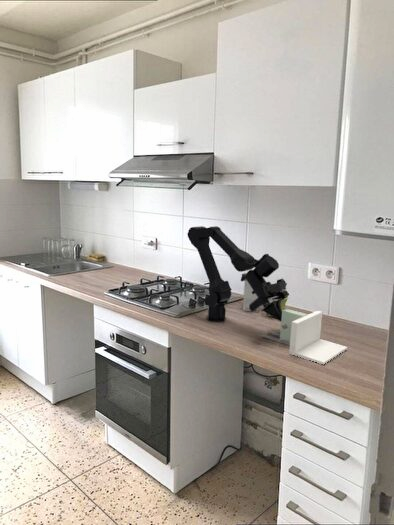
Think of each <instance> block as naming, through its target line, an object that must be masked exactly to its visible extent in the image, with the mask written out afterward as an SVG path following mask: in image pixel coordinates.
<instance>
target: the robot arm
mask: <svg viewBox="0 0 394 525" xmlns="http://www.w3.org/2000/svg"><path fill="white" fill-rule="evenodd" d="M187 231H188V232H187V238H188V240H189V242H190V243H191V245H192V246H193V248H195V249H196V250H197V251H198V254H199V257H200V260H201V263H202V265H203V268H204V271H205V274H206V277H207V279H208V282H209V286H208V293H209V295H208V296H207V297H206V298H204V300H203V301H204V305H205V306H207V315H206V317H207V321H209V322H225V319H226V311H227V310H226V307H225V305H226V304H228V302H229V300H230V299H231V297H232V289H233V288H231V286H230V282H229V280H223V278H222V277H221V274H220V272H219V269H218V266H217V263H216V261H215V257H214V255H213V253H212V250H211V248H210V242H211V241H210V240H211V239H212V241H214V242H215V244H216V245H217V246H219V247H220V248H221V250H223V252H224V253H225V254H226V255H227V256H228V258H229V259H230V262H231V264H232V266H233V268H234V269H235V270H236V271H237V272H239V273H240V272H241V273H242V272H246V273H242V274H241V277H240V282H245V281H246V280H247V282H248V283H249V285H250V286H251V288H252V289H253V291H252V294H256V295H257V297H258V298H257V299H256V300H255V301H253V302H252V303H251V304H250V305H249V309H250V311H249V312H251V313H255V312H256V311H257V308H258V309H259V308H260V307H262V309H261V312H264V313H266V314H267V315H268V314H269V315H271V316H270V317H272V316H273V318H274V319H276V320H278V321H279V322H281V319H282V310H281V306H280V304H281V301H282V300H284V299H285V298H286V297H289V296H290V294H289V292H288V291H287V285H288V283H287V282H286V281H285V279H283V278H279V279H276V282H275V283H272V282H270V281H266V279H265V278H268V277H270V276H271V275H272V274H274V272H276V271H277V270H278V269H279V267H280V264H279V262H278V260H277V259H276V258H274V257H273V256H270V255H269V253H264V254H263V255H262V256H261V258H259V259H256V258H254V256H253V255H251V254H250V253H249V252H247V251H246V250H243V249H241V248H240V247H238V246H237V245H236V244H235V243H234V242H233V241H232V240H231V239H230V237H228V236H227V235H226V233H224V232H223V230H222V229H221V227H220V226H216V225H215V226H209V227H205V226H204V225H203V226H200V225H199V226H192V227H190V228H189V229H188V230H187ZM257 312H258V311H257ZM269 315H268V316H269Z"/></svg>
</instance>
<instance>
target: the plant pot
mask: <svg viewBox="0 0 394 525" xmlns="http://www.w3.org/2000/svg"><path fill="white" fill-rule="evenodd" d="M288 299H289V296H288V297H286V298H285V299H284V300H282V301H281V304H280V306H281V310H285V309H286V304H287V302H288ZM267 316H269V317H273V316H271V315H269V314H268V313H267ZM273 318H274V317H273Z"/></svg>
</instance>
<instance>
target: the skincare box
mask: <svg viewBox="0 0 394 525" xmlns="http://www.w3.org/2000/svg"><path fill="white" fill-rule="evenodd" d="M243 291H244V292H243V311H246V312H251V311H250V309H249V305H250V304H251V303H252V302H253V301H255V300H256V299H257V298H258V297H257V295H256V294H252V291H253V289H252V288H251V286H250V285H249V283H248V282H247V280H246V281H244V289H243ZM258 310H259V308H257V311H256V312H258Z"/></svg>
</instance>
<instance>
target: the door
mask: <svg viewBox="0 0 394 525" xmlns="http://www.w3.org/2000/svg"><path fill="white" fill-rule="evenodd" d="M306 315H308V314H307V313H305V312H300V311H297V310H293V309H288V308H284V310H282V319H281V321H280V332H279V334H280V337H279V339H280V340H283V341H286V342H289V343H290V338H291V327H292V322H293V321H295V320H297V319H299V318H302V317H304V316H306Z"/></svg>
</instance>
